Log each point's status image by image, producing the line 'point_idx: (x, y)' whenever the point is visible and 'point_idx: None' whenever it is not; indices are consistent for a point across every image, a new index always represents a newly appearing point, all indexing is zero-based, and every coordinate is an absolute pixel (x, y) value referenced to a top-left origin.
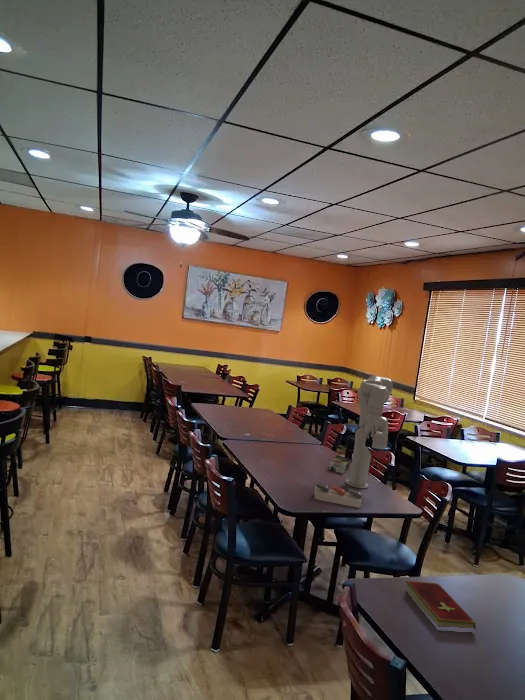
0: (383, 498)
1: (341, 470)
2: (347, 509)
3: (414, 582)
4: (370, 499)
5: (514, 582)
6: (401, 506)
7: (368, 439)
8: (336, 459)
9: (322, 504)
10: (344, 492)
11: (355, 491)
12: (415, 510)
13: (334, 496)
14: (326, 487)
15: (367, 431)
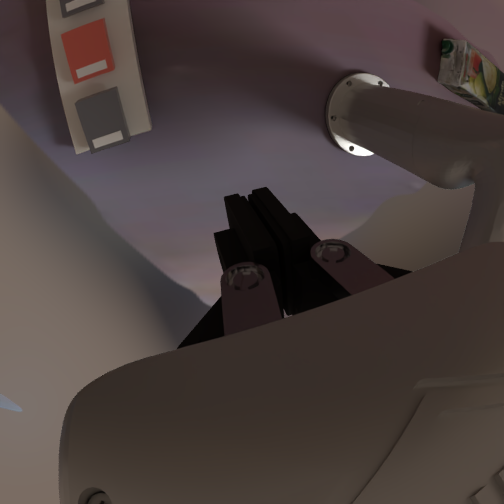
0: None
1: (445, 74)
2: (34, 114)
3: None
4: (220, 167)
5: (20, 409)
6: None
7: (231, 279)
8: (488, 68)
9: (21, 32)
10: (74, 79)
11: (105, 121)
12: None
13: (53, 50)
14: (68, 4)
15: (65, 426)
